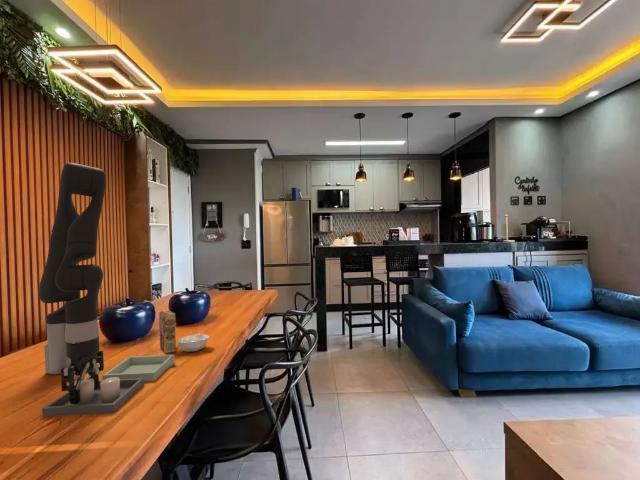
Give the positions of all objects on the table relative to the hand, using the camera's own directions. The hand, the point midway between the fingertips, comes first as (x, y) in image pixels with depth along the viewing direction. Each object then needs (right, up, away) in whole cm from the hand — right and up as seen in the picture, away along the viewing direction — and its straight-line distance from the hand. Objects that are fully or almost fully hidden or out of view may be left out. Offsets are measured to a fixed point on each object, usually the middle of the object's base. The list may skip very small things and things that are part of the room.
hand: (85, 395), depth 91 cm
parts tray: (+3, -2, 0) cm, 4 cm away
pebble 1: (0, -1, 0) cm, 1 cm away
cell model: (+15, -1, +41) cm, 43 cm away
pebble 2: (+7, -1, 0) cm, 7 cm away
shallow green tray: (+6, -2, +18) cm, 19 cm away
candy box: (+3, -2, +42) cm, 42 cm away
